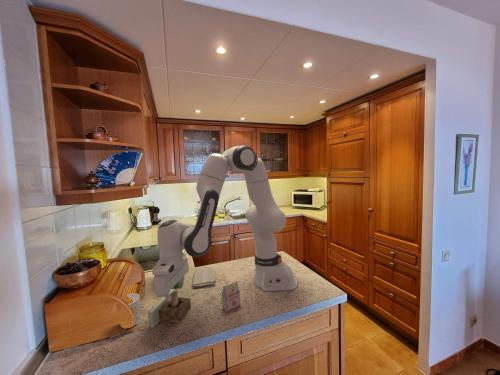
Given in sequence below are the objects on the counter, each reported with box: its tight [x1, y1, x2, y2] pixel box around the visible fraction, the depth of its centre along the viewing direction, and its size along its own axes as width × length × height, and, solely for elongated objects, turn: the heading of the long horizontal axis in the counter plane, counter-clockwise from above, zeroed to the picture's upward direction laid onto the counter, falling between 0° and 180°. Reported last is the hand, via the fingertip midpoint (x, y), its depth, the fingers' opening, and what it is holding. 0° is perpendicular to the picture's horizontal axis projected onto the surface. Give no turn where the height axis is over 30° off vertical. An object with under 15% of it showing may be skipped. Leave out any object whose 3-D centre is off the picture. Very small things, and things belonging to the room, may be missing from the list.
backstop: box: [147, 289, 176, 328], centre depth 90 cm, size 2×16×6 cm, turn 169°
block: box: [159, 296, 192, 324], centre depth 89 cm, size 9×9×4 cm
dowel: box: [170, 290, 179, 308], centre depth 88 cm, size 3×3×8 cm
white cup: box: [126, 292, 141, 326], centre depth 85 cm, size 8×8×10 cm
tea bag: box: [221, 281, 242, 313], centre depth 92 cm, size 4×7×10 cm, turn 126°
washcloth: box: [192, 267, 216, 290], centre depth 117 cm, size 12×18×3 cm, turn 13°
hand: (175, 293), depth 88 cm, fingers open, 8 cm apart
